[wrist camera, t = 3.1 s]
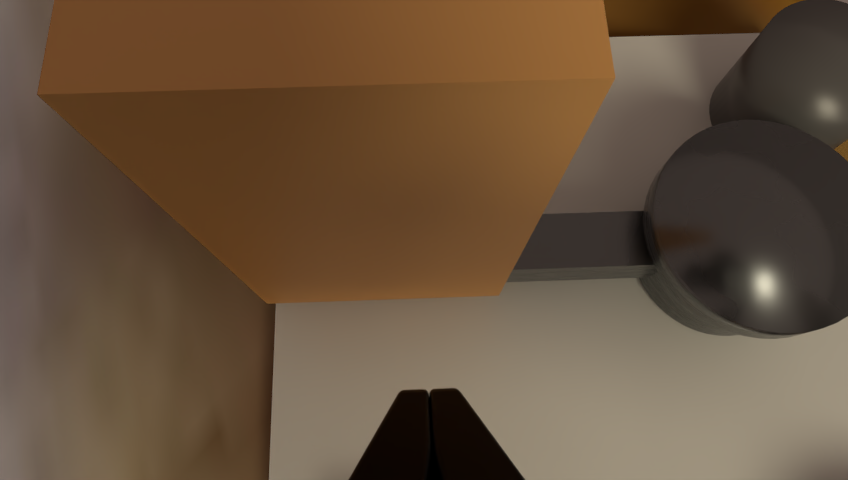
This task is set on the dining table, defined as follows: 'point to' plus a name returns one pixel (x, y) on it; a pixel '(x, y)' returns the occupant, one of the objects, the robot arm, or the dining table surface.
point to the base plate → (602, 308)
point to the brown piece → (437, 156)
